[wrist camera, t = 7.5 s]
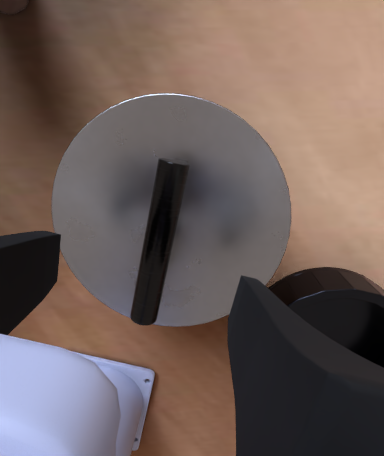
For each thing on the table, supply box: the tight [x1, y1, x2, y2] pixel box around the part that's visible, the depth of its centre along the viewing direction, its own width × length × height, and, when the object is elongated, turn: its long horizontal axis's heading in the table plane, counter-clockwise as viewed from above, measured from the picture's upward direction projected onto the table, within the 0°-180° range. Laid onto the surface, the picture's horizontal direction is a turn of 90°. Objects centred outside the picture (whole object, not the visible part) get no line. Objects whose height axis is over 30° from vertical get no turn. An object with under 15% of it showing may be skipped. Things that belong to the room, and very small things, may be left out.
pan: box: [268, 267, 384, 368], centre depth 22 cm, size 11×11×3 cm
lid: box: [52, 93, 291, 327], centre depth 14 cm, size 12×12×5 cm
